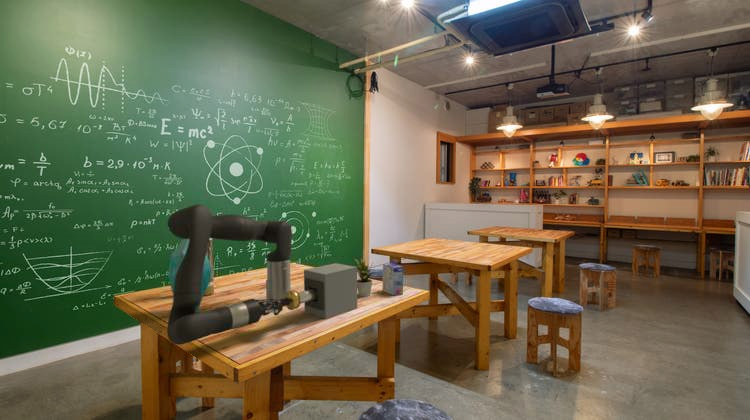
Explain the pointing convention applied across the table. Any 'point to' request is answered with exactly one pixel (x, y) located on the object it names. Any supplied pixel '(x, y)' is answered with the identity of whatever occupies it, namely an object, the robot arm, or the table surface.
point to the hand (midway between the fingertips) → (288, 300)
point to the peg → (300, 297)
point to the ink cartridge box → (393, 278)
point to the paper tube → (210, 256)
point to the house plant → (364, 279)
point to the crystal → (176, 261)
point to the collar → (320, 293)
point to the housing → (334, 289)
